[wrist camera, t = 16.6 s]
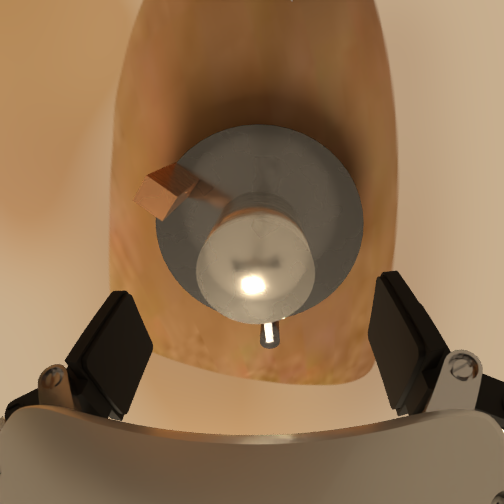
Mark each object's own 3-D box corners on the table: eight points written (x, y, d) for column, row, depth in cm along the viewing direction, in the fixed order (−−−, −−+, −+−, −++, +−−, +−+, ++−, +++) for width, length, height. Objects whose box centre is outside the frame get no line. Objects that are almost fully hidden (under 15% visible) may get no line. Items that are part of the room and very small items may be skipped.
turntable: (135, 241, 22) (94, 283, 16) (238, 85, 17) (223, 62, 10) (274, 331, 26) (275, 389, 19) (390, 211, 20) (434, 247, 14)
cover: (210, 194, 18) (187, 224, 13) (301, 189, 18) (316, 217, 12) (220, 273, 21) (205, 324, 15) (301, 270, 20) (312, 321, 15)
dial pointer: (258, 290, 25) (257, 320, 21) (276, 289, 25) (277, 319, 21) (262, 318, 26) (261, 349, 22) (278, 316, 26) (280, 347, 22)
